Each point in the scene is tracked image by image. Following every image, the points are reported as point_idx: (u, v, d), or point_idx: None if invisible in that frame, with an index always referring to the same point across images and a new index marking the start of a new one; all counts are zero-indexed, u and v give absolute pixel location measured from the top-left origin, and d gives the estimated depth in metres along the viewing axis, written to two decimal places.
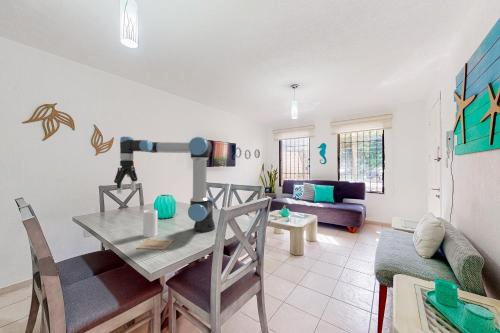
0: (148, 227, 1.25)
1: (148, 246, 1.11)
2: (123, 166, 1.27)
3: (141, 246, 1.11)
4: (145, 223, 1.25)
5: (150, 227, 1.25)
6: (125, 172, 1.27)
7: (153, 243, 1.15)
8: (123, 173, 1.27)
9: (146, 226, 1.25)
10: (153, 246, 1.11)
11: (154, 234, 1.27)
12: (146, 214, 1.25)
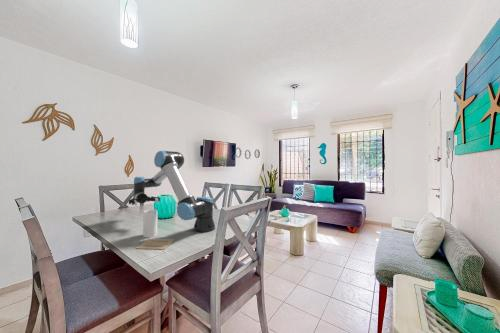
0: (148, 227, 1.25)
1: (148, 246, 1.11)
2: (137, 198, 1.47)
3: (141, 246, 1.11)
4: (145, 223, 1.25)
5: (150, 227, 1.25)
6: (138, 197, 1.44)
7: (153, 243, 1.15)
8: None
9: (146, 226, 1.25)
10: (153, 246, 1.11)
11: (154, 234, 1.27)
12: (146, 214, 1.25)
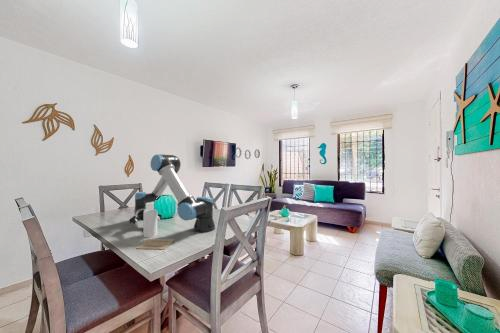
0: (148, 227, 1.25)
1: (148, 246, 1.11)
2: (138, 216, 1.43)
3: (141, 246, 1.11)
4: (145, 223, 1.25)
5: (150, 227, 1.25)
6: (139, 215, 1.40)
7: (153, 243, 1.15)
8: None
9: (146, 226, 1.25)
10: (153, 246, 1.11)
11: (154, 234, 1.27)
12: (146, 214, 1.25)
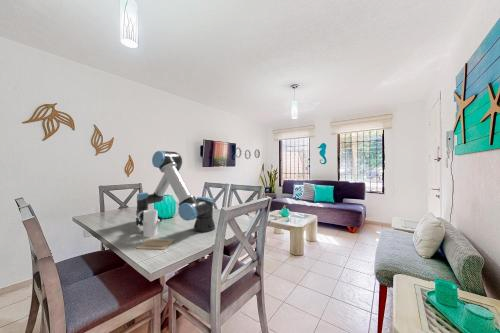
0: (148, 227, 1.25)
1: (148, 246, 1.11)
2: (139, 218, 1.37)
3: (141, 246, 1.11)
4: (145, 223, 1.25)
5: (150, 227, 1.25)
6: (142, 217, 1.34)
7: (153, 243, 1.15)
8: (142, 219, 1.34)
9: (146, 226, 1.25)
10: (153, 246, 1.11)
11: (154, 234, 1.27)
12: (146, 214, 1.25)
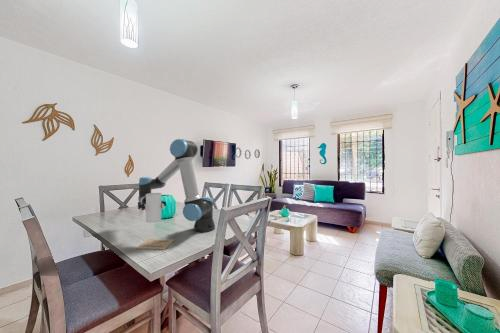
0: (151, 211, 1.13)
1: (148, 246, 1.11)
2: (142, 202, 1.25)
3: (141, 246, 1.11)
4: (148, 207, 1.13)
5: (153, 211, 1.13)
6: (145, 201, 1.22)
7: (153, 243, 1.15)
8: (144, 203, 1.22)
9: (149, 210, 1.13)
10: (153, 246, 1.11)
11: (158, 219, 1.15)
12: (149, 197, 1.13)
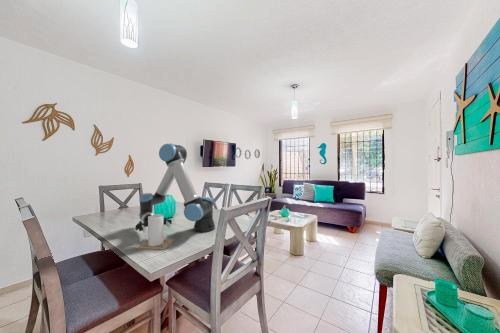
0: (153, 235, 1.11)
1: (148, 246, 1.11)
2: (144, 221, 1.23)
3: (141, 246, 1.11)
4: (150, 230, 1.11)
5: (156, 234, 1.11)
6: (146, 221, 1.20)
7: None
8: None
9: (151, 233, 1.11)
10: (153, 246, 1.11)
11: (160, 242, 1.13)
12: (151, 220, 1.11)
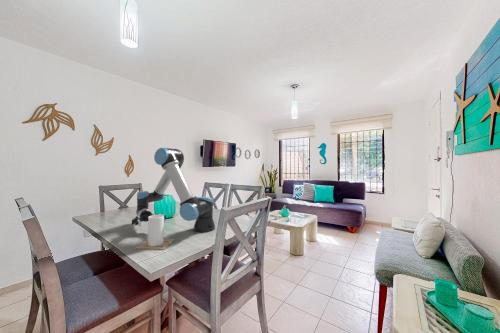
0: (154, 235, 1.11)
1: (148, 246, 1.11)
2: None
3: (141, 246, 1.11)
4: (150, 230, 1.11)
5: (156, 235, 1.11)
6: (142, 216, 1.30)
7: None
8: (141, 218, 1.30)
9: (151, 233, 1.11)
10: (153, 246, 1.11)
11: (160, 242, 1.13)
12: (151, 220, 1.11)
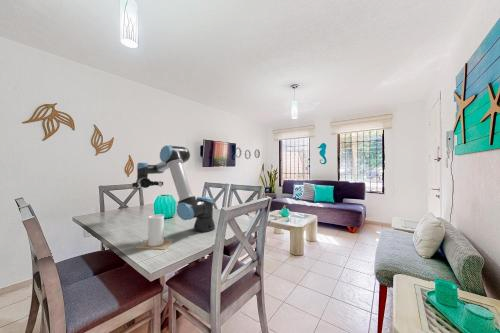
0: (154, 235, 1.11)
1: (148, 246, 1.11)
2: None
3: (141, 246, 1.11)
4: (150, 230, 1.11)
5: (156, 235, 1.11)
6: (141, 181, 1.44)
7: None
8: None
9: (151, 233, 1.11)
10: (153, 246, 1.11)
11: (160, 242, 1.13)
12: (151, 220, 1.11)
